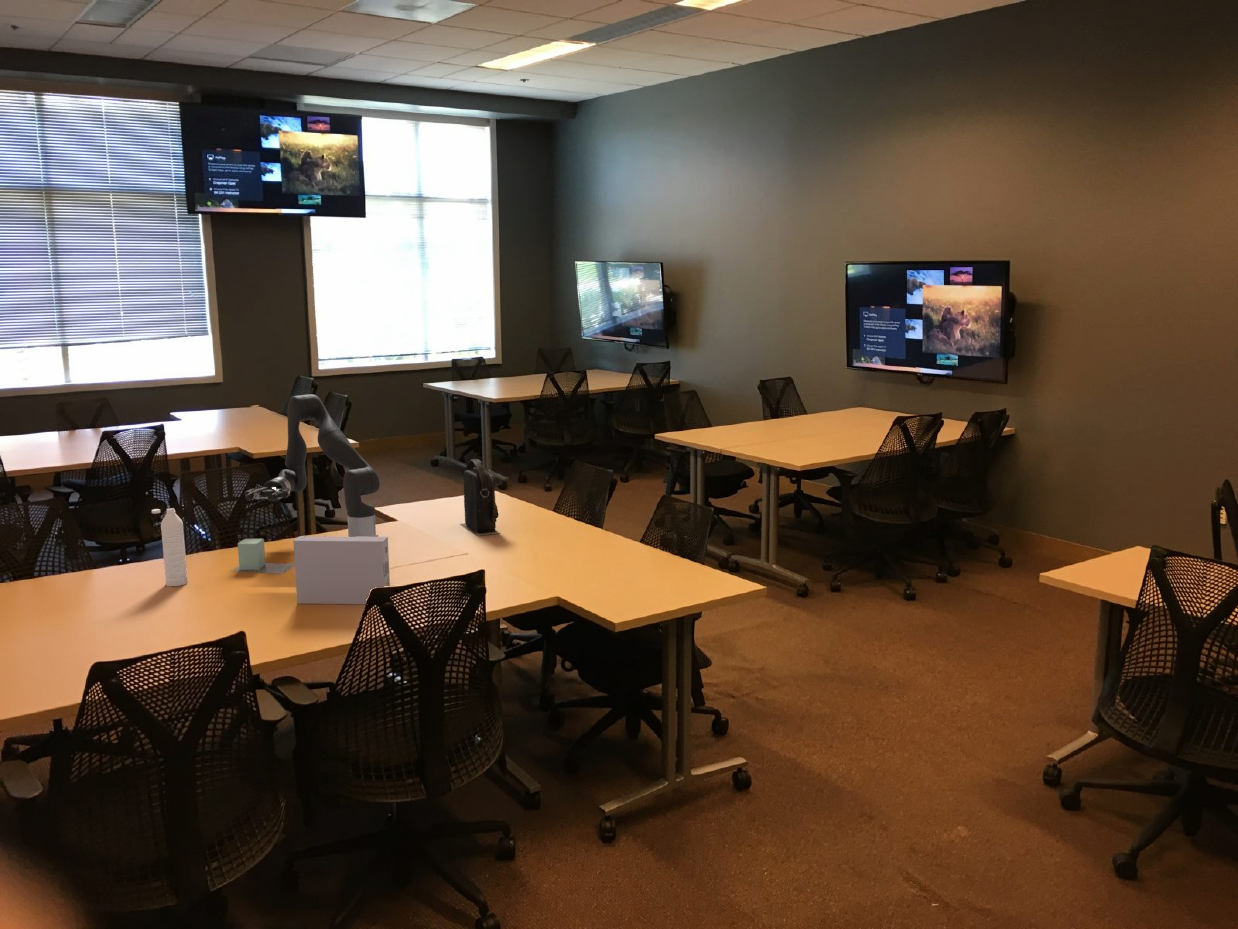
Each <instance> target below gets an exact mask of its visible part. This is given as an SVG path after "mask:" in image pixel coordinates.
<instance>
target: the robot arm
mask: <svg viewBox="0 0 1238 929" xmlns="http://www.w3.org/2000/svg"><path fill="white" fill-rule="evenodd" d="M311 420H313V421H315V422H316V423H317V425H318V427H319V428H318V434H317V443H318V446H319V447H320V449H321V450H322V451H323V453H324V455H325V456H326V457H328V458H329V460H331V461H333V462H335V463H337V464H339V465H341V466H343V467H345V468H347V469H349V470H347V471H345V473H344V475H343V481H342V483H343V484H342V485H343V493H344V494H343V495H344V505H345V508H346V514H347V532H348V536H347V537H357V536H367V537H379V535H378V534H377V531H376V530H377V529H376V527H377V526H376V525H377V524H376V508H375V506H374V505H373V504H370V503H364V502H363V501H362V496H368V495H372V494H374V493H377V492H378V491H379V489H380V482H381V481H380V478H379V475H378V474H377V472H376V471H375V470H374V468H373V467H372V466H371V465H370V464H369V462H367V460H365V459H364V458H363V456H362V455H361V454H360V453H359V452H358V451H357V449H355V447H354V446H353V445H352V443H351V442H350V440H349V439H348V438H347V436H346V435H345V434H344V432H343V431H342V430H341V429H340V428H339V425H337V424H336V422H335V421H334V419H333V418H332V417H331V416H330V413H329V412H328V410H327V408H326V406H325V405H324V403H323V401H322V400H321V398H320V397H319V396H318V395H316V394H301V395H300V394H299V395H293V396H291V397H290V398H289V401H288V404H287V448H286V455H285V462H284V464H285V466H286V469H282V470H280V471H279V474H278V476H277V477H274V478H272V479H270V480H269V481H266V482H265V483H264V484H263V486H262V488H258V489H255V488H250V489H248V490H246V491H244V493H245V494H244V495H245V499H246V500H247V502H249V501H252V500H262V499H266V500H268V502H269V501H270V502H277V501H279V500H281V499H287V498H288V497H289V496H291V492H296V493H300V492H303V491H304V490H305V488H306V487H307V483H308V476H307V471H306V459H307V453H308V448H307V447H308V446H307V444H306V441H305V439H304V438H303V436H302V434H301V431H300V422H302V421H311ZM287 468H288V469H287Z"/></svg>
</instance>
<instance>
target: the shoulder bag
mask: <svg viewBox="0 0 1238 929" xmlns="http://www.w3.org/2000/svg"><path fill="white" fill-rule="evenodd" d="M495 485H496V477H495V475H494V474H491V473H490V472H489V471H488V470H485V467H484V465H483V463H482V460H480V459H478V458H473V459H470V460H469V461H468V463H467V468H466V470H464V471H463V503H464V506H463V507H464V523H459V525H460V526H461V527H463V528H465V529H466V530H468V531H470V532H472V533H473V534H475V535H476V536H479V537H480V536H485V535H486V536H488V535H495V534H501V532H500V531H498V530H496V523H497V519H498V517H499V512H498V511H499V510H498V506H497V502H496V493H495V492H496V491H495V489H496V488H495V487H496V486H495Z"/></svg>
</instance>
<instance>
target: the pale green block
mask: <svg viewBox="0 0 1238 929" xmlns="http://www.w3.org/2000/svg"><path fill="white" fill-rule="evenodd" d="M265 549H266V548H265V539H264V538H244V539H242V540H241V541H240V542H238V543H237V552H238V567H239V569H240V570H259V569H260V568H261V567H263V566H264V565H265V563H266V550H265Z"/></svg>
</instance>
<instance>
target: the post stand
mask: <svg viewBox="0 0 1238 929" xmlns="http://www.w3.org/2000/svg"><path fill="white" fill-rule="evenodd" d="M292 568H295V563H294V564H293V563H277V562H276V563H275V562H274V563H273V562H265V565H264V566H263V567H261V568H260V569H259V570H240V569H239V566H238V567H237V568H235V569H232V570H231V572H239V573H240V572H241V573H243V572H244V573H258V574H276V575H282V574H283V573H285V572H288V571H289V570H291V569H292Z"/></svg>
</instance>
